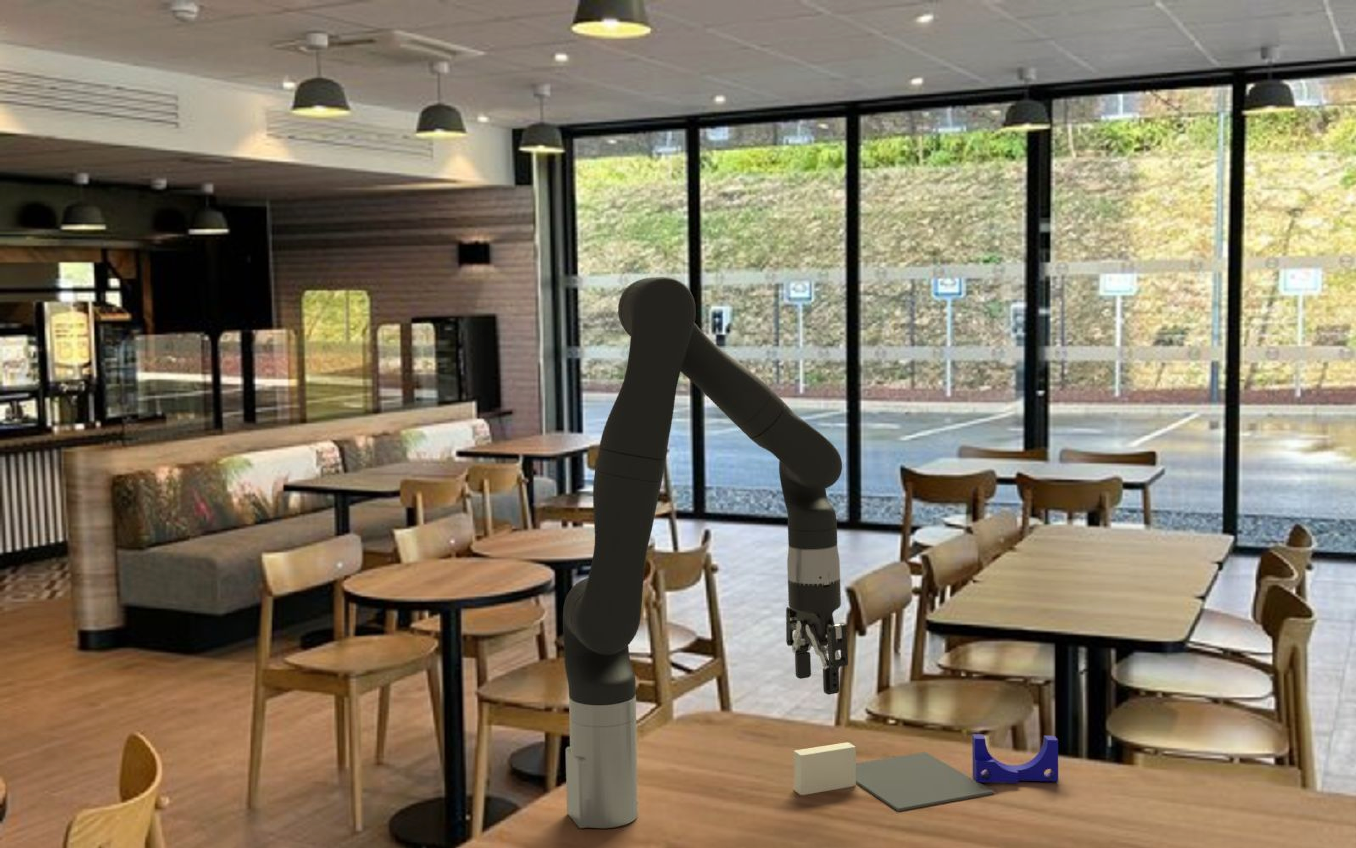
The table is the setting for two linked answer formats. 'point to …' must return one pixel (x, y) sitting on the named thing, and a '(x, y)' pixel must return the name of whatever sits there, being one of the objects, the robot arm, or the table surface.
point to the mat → (916, 781)
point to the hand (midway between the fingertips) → (817, 685)
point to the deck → (824, 768)
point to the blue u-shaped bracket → (1013, 773)
